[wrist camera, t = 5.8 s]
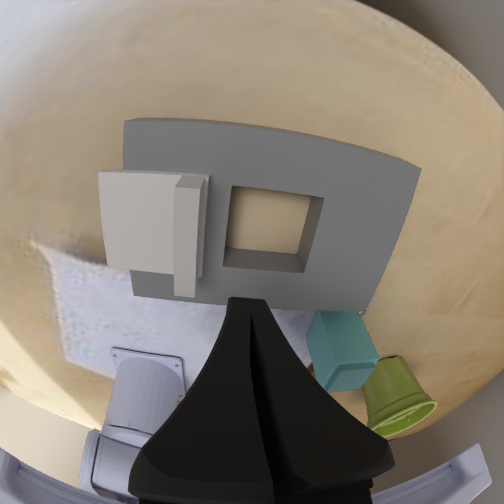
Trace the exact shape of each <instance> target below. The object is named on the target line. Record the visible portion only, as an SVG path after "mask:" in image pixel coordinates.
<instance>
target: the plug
mask: <svg viewBox="0 0 504 504" xmlns="http://www.w3.org/2000/svg"><path fill="white" fill-rule="evenodd" d="M306 339H307V343H308V347H309V351H310V355H311V359H312V363H313V367H314V371H315V375H316V379H317V382H318V383H319V384H320V385H321V386H322V387H323V388H324V389H326V391H327V392H337V391H346V390H355V389H360V388H361V386H362V385H363V384H364V383H365V381H366V380H367V379H368V378H369V376H370V375H371V374H372V372H373V371H374V370H375V368H376V367H375V364H376V363H377V362H378V360H379V359H380V358H379V356H378V353H377V351H376V349H375V347H374V344H373V342H372V340H371V338H370V336H369V333H368V331H367V329H366V327H365V325H364V323H363V321H362V319H361V316H360V314H359V312H358V311H323V310H317V313H316V315H315V318H314V320H313V323H312V325H311V328H310V330H309V332H308V335H307V337H306Z"/></svg>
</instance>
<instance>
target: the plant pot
mask: <svg viewBox="0 0 504 504" xmlns="http://www.w3.org/2000/svg"><path fill="white" fill-rule="evenodd" d="M375 367H376V368H375V370H374V371H373V372H372V374H371V375H370V376H369V378H368V379H367V380H366V381H365V383H364V384H363V389H364V395H365V401H366V407H367V414H368V423H367V427H368V428H369V429H371V430H372V431H374V432H375V433H377V434H378V435H380V436H382V437H383V438H384V437H388V436H391V435H394V434H396V433H399V432H401V431H403V430H406V429H408V428H410V427H412V426H413V425H415V424H417V423H418V422H420V421H422V420H423V419H424V418H426V417H427V416H428V415H429V414H431V413H432V412H433V411H434V409H435V408H436V407H437V402H436V401H435V400H432V399H431V398H430V396H429V395H428V394H426V393H425V392H424V390H423V389H422V387H421V386H420V384H419V383H418V381H417V380H416V378H415V377H414V375H413V374H412V372H411V371H410V369H409V368H408V366H407V365H406V363H405V362H404V360H403V359H402V358H401V357H399V356H396V357H395V358H385V359H382V360H380V361H378V362H377V363H376V364H375Z"/></svg>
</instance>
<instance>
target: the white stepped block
mask: <svg viewBox="0 0 504 504" xmlns="http://www.w3.org/2000/svg"><path fill="white" fill-rule="evenodd" d="M98 183H99V198H100V210H101V220H102V229H103V237H104V244H105V251H106V257H107V263H108V267H112V268H120V269H129V270H137V271H146V272H155V273H164V274H174V296H183V297H192V298H195V295H196V289H197V283H198V277H202V271H203V253H204V237H205V223H206V209H207V197H208V186H209V175H208V174H197V173H183V172H168V171H148V170H113V169H102V170H101V171H99V172H98Z"/></svg>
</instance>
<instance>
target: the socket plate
mask: <svg viewBox="0 0 504 504" xmlns="http://www.w3.org/2000/svg"><path fill="white" fill-rule="evenodd" d="M123 170H148V171H168V172H183V173H197V174H208V175H209V186H208V197H207V209H206V223H205V237H204V253H203V271H202V277H198V283H197V289H196V295H195V298H192V297H183V296H174V274H164V273H155V272H146V271H137V270H130V273H131V280H132V287H133V293H134V296H142V297H149V298H158V299H166V300H175V301H185V302H195V303H205V304H216V305H227V303H228V298H230V297H243V298H255V299H264V300H265V301H266V302H267V304H268V306H269V308H273V309H294V310H323V311H366V309H367V307H368V305H369V303H370V301H371V299H372V297H373V294H374V292H375V290H376V288H377V286H378V284H379V282H380V280H381V277H382V275H383V273H384V271H385V268H386V266H387V264H388V262H389V259H390V257H391V254H392V252H393V250H394V247H395V245H396V242H397V240H398V237H399V235H400V232H401V229H402V227H403V224H404V221H405V218H406V216H407V213H408V210H409V207H410V204H411V201H412V198H413V195H414V192H415V189H416V186H417V182H418V179H419V176H420V172H421V168H419V167H417V166H415V165H413V164H411V163H409V162H407V161H405V160H403V159H400V158H397V157H394V156H391V155H388V154H384V153H381V152H378V151H374V150H371V149H368V148H364V147H360V146H357V145H353V144H349V143H345V142H341V141H337V140H333V139H328V138H324V137H319V136H315V135H310V134H305V133H300V132H295V131H289V130H283V129H277V128H271V127H265V126H258V125H250V124H242V123H233V122H223V121H212V120H199V119H180V118H136V119H132V120H128V121H124V143H123ZM232 185H234V186H243V187H252V188H260V189H268V190H276V191H283V192H290V193H297V194H304V195H310V196H312V197H311V201H310V205H309V209H308V213H307V217H306V221H305V225H304V229H303V233H302V237H301V241H300V245H299V249H298V253H297V254H287V253H276V252H266V251H255V250H244V249H234V248H225V239H226V230H227V221H228V213H229V204H230V196H231V188H232Z"/></svg>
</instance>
